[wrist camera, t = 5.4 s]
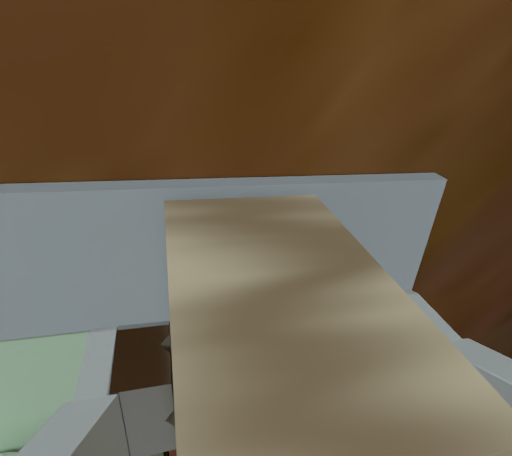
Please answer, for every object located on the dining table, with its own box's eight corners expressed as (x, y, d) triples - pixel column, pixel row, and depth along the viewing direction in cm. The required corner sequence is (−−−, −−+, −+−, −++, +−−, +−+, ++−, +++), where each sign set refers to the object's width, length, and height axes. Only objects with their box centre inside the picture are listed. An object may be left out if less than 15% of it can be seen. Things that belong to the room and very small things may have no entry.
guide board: (434, 172, 12) (447, 179, 11) (400, 284, 14) (410, 294, 13) (-321, 192, 8) (-356, 204, 7) (-208, 348, 10) (-229, 366, 9)
